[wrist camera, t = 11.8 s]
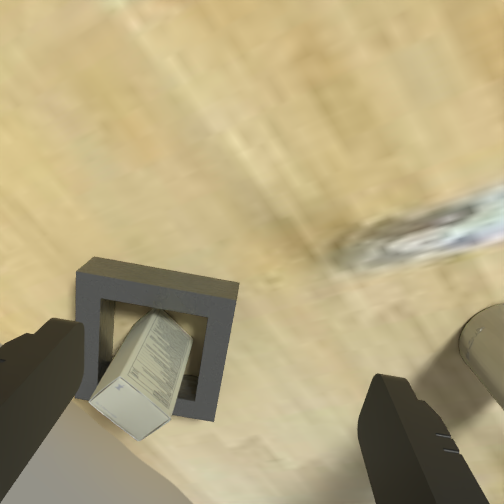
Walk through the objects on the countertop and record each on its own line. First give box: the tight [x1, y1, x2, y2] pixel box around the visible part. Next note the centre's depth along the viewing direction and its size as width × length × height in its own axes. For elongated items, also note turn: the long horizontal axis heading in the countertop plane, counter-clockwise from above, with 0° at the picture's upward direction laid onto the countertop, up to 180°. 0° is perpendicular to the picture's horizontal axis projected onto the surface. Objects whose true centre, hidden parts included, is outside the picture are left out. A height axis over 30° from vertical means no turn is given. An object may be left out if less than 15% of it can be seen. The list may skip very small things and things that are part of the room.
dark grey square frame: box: [75, 257, 239, 422], centre depth 41 cm, size 16×16×4 cm
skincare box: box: [89, 308, 193, 441], centre depth 37 cm, size 6×4×12 cm
